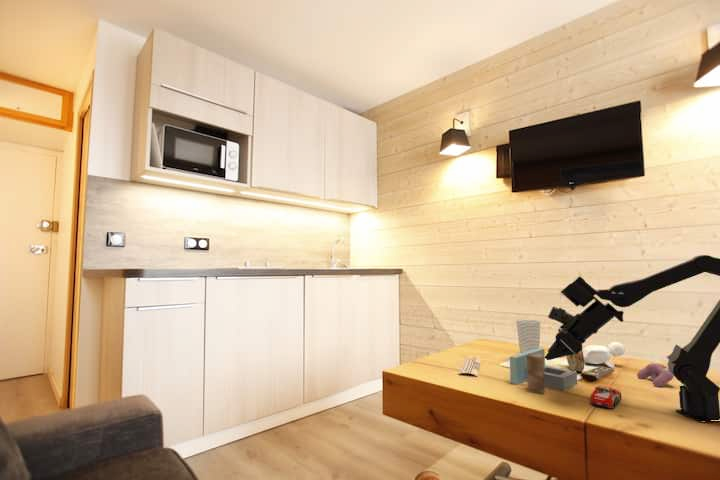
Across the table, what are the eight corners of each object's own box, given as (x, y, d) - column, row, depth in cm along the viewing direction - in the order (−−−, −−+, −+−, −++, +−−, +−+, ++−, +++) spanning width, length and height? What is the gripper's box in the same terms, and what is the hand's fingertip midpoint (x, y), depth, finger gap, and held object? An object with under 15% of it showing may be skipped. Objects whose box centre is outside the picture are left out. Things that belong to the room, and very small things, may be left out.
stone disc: (587, 375, 118) (585, 344, 119) (574, 374, 119) (573, 344, 120) (578, 367, 128) (576, 339, 129) (566, 366, 129) (565, 338, 130)
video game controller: (669, 393, 105) (680, 372, 105) (653, 385, 106) (663, 364, 106) (649, 383, 114) (658, 364, 114) (634, 376, 115) (644, 356, 115)
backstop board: (545, 372, 120) (544, 348, 121) (516, 384, 108) (515, 357, 108) (539, 371, 122) (538, 347, 123) (510, 383, 109) (509, 356, 110)
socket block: (577, 385, 108) (576, 371, 109) (564, 392, 102) (563, 377, 102) (543, 377, 116) (543, 365, 116) (529, 383, 110) (528, 370, 110)
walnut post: (544, 389, 103) (543, 354, 104) (543, 393, 100) (542, 357, 100) (529, 387, 105) (528, 353, 106) (528, 391, 102) (526, 355, 103)
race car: (600, 394, 100) (600, 379, 101) (624, 399, 96) (623, 384, 97) (586, 405, 91) (585, 389, 92) (611, 412, 87) (610, 395, 88)
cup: (528, 366, 129) (526, 322, 131) (512, 360, 137) (511, 319, 139) (547, 364, 131) (545, 322, 133) (530, 359, 140) (529, 319, 141)
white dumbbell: (589, 375, 129) (634, 363, 124) (578, 352, 130) (622, 339, 126) (584, 369, 137) (626, 357, 132) (573, 347, 138) (615, 335, 134)
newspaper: (465, 361, 139) (465, 356, 140) (484, 362, 137) (484, 358, 137) (458, 377, 118) (458, 371, 118) (480, 379, 115) (480, 374, 115)
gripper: (567, 295, 108) (529, 329, 113) (564, 299, 92) (520, 338, 97) (600, 324, 103) (558, 357, 108) (603, 333, 87) (554, 372, 92)
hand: (547, 355), depth 102 cm, fingers open, 9 cm apart
